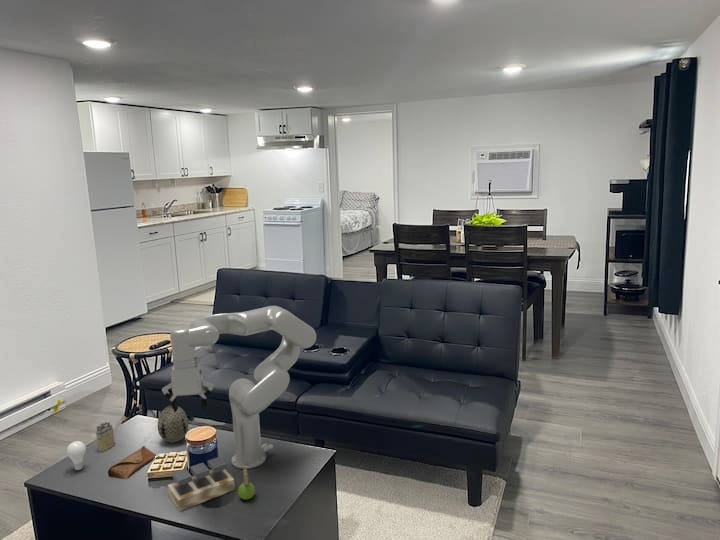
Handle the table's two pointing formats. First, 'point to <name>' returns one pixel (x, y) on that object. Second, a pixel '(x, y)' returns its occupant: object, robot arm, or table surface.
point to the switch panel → (201, 489)
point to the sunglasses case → (131, 464)
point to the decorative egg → (172, 424)
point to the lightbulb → (76, 453)
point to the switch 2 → (217, 464)
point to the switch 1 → (182, 477)
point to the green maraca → (246, 487)
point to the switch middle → (200, 470)
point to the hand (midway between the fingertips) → (190, 409)
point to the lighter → (105, 436)
